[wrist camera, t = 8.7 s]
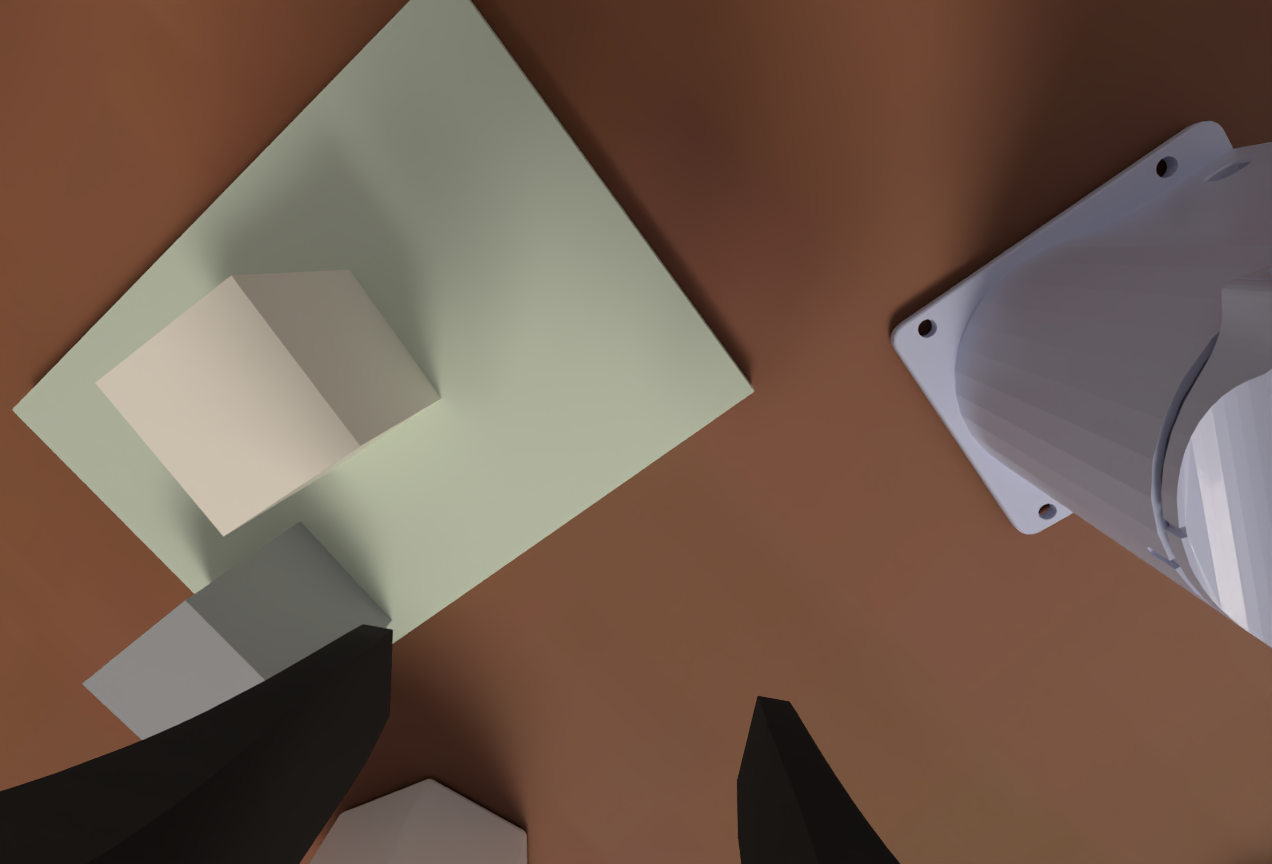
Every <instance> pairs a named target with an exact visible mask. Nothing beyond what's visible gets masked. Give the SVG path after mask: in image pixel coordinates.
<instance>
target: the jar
mask: <svg viewBox="0 0 1272 864" xmlns="http://www.w3.org/2000/svg"><path fill="white" fill-rule="evenodd" d="M309 864H527V835H526V832H525V831H524V830H523V829H521V828H519V827H517V826H515V825H514V824H512V823H510V822H508V821H506V820H505V819H503V818H501V817H499V816H497V815H496V814H494V813H492V812H490V811H488V810H487V809H485V808H483V807H481V806H480V805H478V804H476V803H474V802H472V801H471V800H469V799H467V798H465V797H463V796H462V795H460V794H458V793H456V792H454V791H453V790H451V789H449V788H447V787H445V786H444V785H442V784H440V783H438V782H436V781H435V780H433V779H426V780H424V781H421V782H419V783H416V784H414V785H411V786H409V787H406V788H404V789H401V790H398V791H396V792H393V793H391V794H388V795H386V796H383V797H381V798H378V799H376V800H373V801H370V802H368V803H365V804H363V805H360V806H358V807H355V808H352V809H350V810H347V811H345V812H343V813H341V814H340V815H339V817H338V818H337V820H336V821H335V823H334V825H333V826H332V828H331V829H330V831H329V833H328V834H327V836H326V837H325V839H324V841H323V842H322V844H321V845H320V847H319V849H318V850H317V852H316V854H315V855H314V857H313V858H312V860H311V862H310V863H309Z"/></svg>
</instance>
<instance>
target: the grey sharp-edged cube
mask: <svg viewBox="0 0 1272 864" xmlns="http://www.w3.org/2000/svg"><path fill="white" fill-rule="evenodd" d="M391 621H392V620H391V619H390V618H389V617H388V615H387V614H386V613H385V612H384V611H383V610H382V609H381V608H380V607H379V606H378V605H377V604H376V603H375V601H374V600H373V599H372V598H371V597H370V596H369V595H368V594H367V593H366V592H365V591H364V590H363V589H362V587H361V586H360V585H359V584H358V583H357V582H356V581H355V580H354V579H353V578H352V577H351V576H350V575H349V573H348V572H347V571H346V570H345V569H344V568H343V567H342V566H341V565H340V564H339V563H338V562H337V560H336V559H335V558H334V557H333V556H332V555H331V554H330V553H329V552H328V551H327V550H326V549H325V548H324V546H323V545H322V544H321V543H320V542H319V541H318V540H317V539H316V538H315V537H314V536H313V535H312V534H311V532H310V531H309V530H308V529H307V528H306V527H305V526H304V525H303V524H302V523H301V522H299V523H297V524H296V525H294V526H293V527H291V528H290V529H288V530H287V531H285V532H284V533H283V534H281V535H280V536H278V537H277V538H275V539H274V540H272V541H271V542H269V543H268V544H267V545H265V546H264V547H262V548H261V549H259V550H258V551H256V552H255V553H253V554H252V555H251V556H249V557H248V558H246V559H245V560H243V561H242V562H240V563H239V564H238V565H236V566H235V567H233V568H232V569H230V570H229V571H227V572H226V573H224V574H223V575H222V576H220V577H219V578H217V579H216V580H214V581H213V582H211V583H210V584H208V585H207V586H206V587H204V588H203V589H201V590H200V591H198V592H197V593H195V594H194V595H192V596H191V597H190V598H188V599H187V600H185V601H184V602H183V603H182V604H180V605H179V606H178V607H177V608H175V609H174V610H173V611H172V612H170V613H169V614H168V615H167V616H165V617H164V618H163V619H162V620H161V621H159V622H158V623H157V624H156V625H154V626H153V627H152V628H151V629H149V630H148V631H147V632H146V633H144V634H143V635H142V636H141V637H140V638H138V639H137V640H136V641H135V642H133V643H132V644H131V645H130V646H128V647H127V648H126V649H125V650H123V651H122V652H121V653H120V654H119V655H117V656H116V657H115V658H114V659H112V660H111V661H110V662H109V663H107V664H106V665H105V666H104V667H102V668H101V669H100V670H99V671H98V672H96V673H95V674H94V675H93V676H91V677H90V678H89V679H88V680H86V681H85V682H84V683H83V685H84V686H85V687H86V688H87V689H88V690H89V691H90V692H91V693H92V694H93V695H94V696H96V697H97V698H98V699H99V700H100V701H101V702H102V703H103V704H104V705H105V706H106V707H107V708H108V709H109V710H111V711H112V712H113V713H114V714H115V715H116V716H117V717H118V718H119V719H120V720H121V721H122V722H123V723H124V724H125V725H127V726H128V727H129V728H130V729H131V730H132V731H133V732H134V733H135V734H136V735H137V736H138V737H139V738H140V739H141V740H144V739H146V738H148V737H151V736H153V735H155V734H158V733H160V732H162V731H164V730H167V729H169V728H171V727H174V726H176V725H178V724H180V723H182V722H184V721H187V720H189V719H191V718H193V717H195V716H197V715H199V714H201V713H203V712H205V711H208V710H210V709H211V708H213V707H215V706H217V705H219V704H221V703H223V702H225V701H227V700H229V699H231V698H232V697H234V696H236V695H238V694H240V693H242V692H244V691H246V690H248V689H250V688H252V687H254V686H255V685H257V684H259V683H261V682H263V681H265V680H267V679H269V678H270V677H272V676H274V675H276V674H277V673H279V672H281V671H282V670H284V669H286V668H288V667H289V666H291V665H293V664H295V663H296V662H298V661H300V660H302V659H303V658H305V657H307V656H309V655H310V654H312V653H314V652H315V651H317V650H319V649H321V648H322V647H324V646H326V645H327V644H329V643H331V642H332V641H334V640H336V639H337V638H339V637H341V636H343V635H344V634H346V633H348V632H350V631H351V630H353V629H355V628H357V627H359V626H360V625H362V624H365V625H371V626H376V627H382V628H386V627H387V626H388V625H389V623H390V622H391Z"/></svg>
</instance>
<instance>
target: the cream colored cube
mask: <svg viewBox="0 0 1272 864" xmlns="http://www.w3.org/2000/svg"><path fill="white" fill-rule="evenodd" d="M95 383H96V385H97V386H98V387H99V388H100V389H101V391H102V392H103V393H104V394H105V395H106V397H107V398H108V399H109V400H110V401H111V403H112V404H113V405H114V406H115V407H116V408H117V410H118V411H119V412H120V413H121V414H122V416H123V417H124V418H125V419H126V420H127V422H128V423H129V424H130V425H131V426H132V428H133V429H134V430H135V431H136V432H137V434H138V435H139V436H140V437H141V438H142V440H143V441H144V442H145V443H146V444H147V446H148V447H149V448H150V449H151V450H152V452H153V453H154V454H155V455H156V456H157V458H158V459H159V460H160V461H161V462H162V464H163V465H164V466H165V467H166V468H167V470H168V471H169V472H170V473H171V474H172V476H173V477H174V478H175V479H176V480H177V482H178V483H179V484H180V485H181V486H182V487H183V489H184V490H185V491H186V492H187V493H188V495H189V496H190V497H191V498H192V499H193V501H194V502H195V503H196V504H197V505H198V507H199V508H200V509H201V510H202V511H203V513H204V514H205V515H206V516H207V517H208V519H209V520H210V521H211V522H212V523H213V525H214V526H215V527H216V528H217V529H218V531H219V532H220V533H221V534H222V535H223V537H224V536H225V535H227V534H229V533H230V532H232V531H234V530H235V529H237V528H238V527H240V526H242V525H243V524H245V523H247V522H248V521H250V520H252V519H253V518H255V517H257V516H258V515H260V514H262V513H263V512H265V511H266V510H268V509H270V508H271V507H273V506H275V505H276V504H278V503H280V502H281V501H283V500H285V499H286V498H288V497H289V496H291V495H293V494H294V493H296V492H298V491H299V490H301V489H303V488H304V487H306V486H308V485H309V484H311V483H313V482H314V481H316V480H317V479H319V478H321V477H322V476H324V475H326V474H327V473H329V472H331V471H332V470H334V469H335V468H337V467H338V466H340V465H341V464H343V463H344V462H346V461H347V460H349V459H351V458H352V457H354V456H355V455H357V454H358V453H360V452H361V451H363V450H364V449H366V448H367V447H369V446H370V445H372V444H373V443H375V442H376V441H378V440H379V439H381V438H382V437H384V436H385V435H387V434H388V433H390V432H391V431H393V430H395V429H396V428H398V427H399V426H401V425H402V424H404V423H405V422H407V421H408V420H410V419H411V418H413V417H414V416H416V415H417V414H419V413H420V412H422V411H423V410H425V409H426V408H428V407H429V406H431V405H432V404H434V403H435V402H437V401H438V400H440V399H442V398H441V397H440V396H439V394H438V393H437V391H436V390H435V389H434V387H433V386H432V384H431V383H430V382H429V380H428V379H427V377H426V376H425V375H424V373H423V372H422V370H421V369H420V368H419V366H418V365H417V363H416V362H415V361H414V359H413V358H412V356H411V355H410V354H409V352H408V351H407V349H406V348H405V347H404V345H403V344H402V342H401V341H400V340H399V338H398V337H397V335H396V334H395V333H394V331H393V330H392V328H391V327H390V326H389V324H388V323H387V321H386V320H385V319H384V317H383V316H382V314H381V313H380V312H379V310H378V309H377V307H376V306H375V305H374V303H373V302H372V300H371V299H370V298H369V296H368V295H367V293H366V292H365V291H364V289H363V288H362V286H361V285H360V284H359V282H358V281H357V279H356V278H355V277H354V275H353V274H352V272H351V271H350V270H331V271H310V272H290V273H270V274H250V275H231V276H230V277H229V278H227V279H226V280H225V281H223V282H222V283H221V284H220V285H218V286H217V287H216V288H215V289H213V290H212V291H211V292H209V293H208V294H207V295H206V296H204V297H203V298H202V299H201V300H199V301H198V302H197V303H196V304H194V305H193V306H192V307H190V308H189V309H188V310H187V311H185V312H184V313H183V314H182V315H180V316H179V317H178V318H177V319H175V320H174V321H173V322H171V323H170V324H169V325H168V326H166V327H165V328H164V329H163V330H161V331H160V332H159V333H158V334H156V335H155V336H154V337H152V338H151V339H150V340H149V341H147V342H146V343H145V344H144V345H142V346H141V347H140V348H138V349H137V350H136V351H135V352H133V353H132V354H131V355H130V356H128V357H127V358H126V359H125V360H123V361H122V362H121V363H119V364H118V365H117V366H116V367H114V368H113V369H112V370H111V371H109V372H108V373H107V374H106V375H104V376H103V377H102V378H100V379H99V380H98V381H97V382H95Z"/></svg>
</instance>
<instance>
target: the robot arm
mask: <svg viewBox="0 0 1272 864" xmlns="http://www.w3.org/2000/svg"><path fill="white" fill-rule="evenodd" d="M1161 159H1163V160H1164V161H1165V162H1166V165H1167V169H1166V172H1165V174H1164V175H1163V176H1162V177H1160V176H1159V175H1157V172H1156V167H1157V164H1158V162H1159V161H1160V160H1161ZM927 319H929V320H930V321H931V324H932V328H931V331H930V332H929V333H928V334H927V335H924V336H921V335H919V332H918V327H919V324H920V323H921V322H922V321H924V320H927ZM891 344H892V346H893V348H894V350H895V351H896V353H897V354H898V356H899V357H900V359H901V360H902V362H903V363H904V365H905V366H906V368H907V369H908V371H909V372H910V373H911V375H912V376H913V378H914V379H915V381H916V382H917V384H918V385H919V387H920V388H921V390H922V391H923V393H924V394H925V396H926V397H927V399H928V400H929V402H930V403H931V405H932V406H933V408H934V409H935V411H936V412H937V414H938V415H939V417H940V418H941V420H942V421H943V423H944V424H945V426H946V427H947V429H948V430H949V432H950V433H951V435H952V436H953V438H954V439H955V440H956V442H957V443H958V445H959V446H960V448H961V449H962V451H963V452H964V454H965V455H966V457H967V458H968V460H969V461H970V463H971V464H972V466H973V467H974V469H975V470H976V472H977V473H978V475H979V476H980V478H981V479H982V481H983V482H984V484H985V485H986V487H987V488H988V490H989V491H990V493H991V494H992V496H993V497H994V499H995V500H996V502H997V503H998V504H999V506H1000V507H1001V509H1002V510H1003V512H1004V513H1005V515H1006V516H1007V518H1008V519H1009V521H1010V522H1011V524H1012V525H1013V526H1014V527H1015V528H1016V529H1018V530H1019V531H1020V532H1021V533H1024V534H1035V533H1038V532H1040V531H1042V530H1044V529H1045V528H1047V527H1049V526H1051V525H1053V524H1054V523H1056V522H1058V521H1060V520H1061V519H1063V518H1065V517H1067V516H1069V515H1070V514H1072V513H1075V514H1076V515H1078V516H1079V517H1080V518H1082V519H1083V520H1085V521H1086V522H1088V523H1089V524H1091V525H1092V526H1094V527H1095V528H1097V529H1098V530H1100V531H1101V532H1103V533H1104V534H1105V535H1107V536H1108V537H1110V538H1111V539H1113V540H1114V541H1116V542H1117V543H1119V544H1120V545H1122V546H1123V547H1125V548H1126V549H1128V550H1129V551H1130V552H1132V553H1133V554H1135V555H1136V556H1138V557H1139V558H1141V559H1142V560H1144V561H1145V562H1147V563H1148V564H1150V565H1151V566H1153V567H1154V568H1155V569H1157V570H1158V571H1160V572H1161V573H1163V574H1164V575H1166V576H1167V577H1169V578H1170V579H1172V580H1173V581H1175V582H1176V583H1177V584H1179V585H1180V586H1182V587H1183V588H1185V589H1186V590H1188V591H1189V592H1191V593H1192V594H1194V595H1195V596H1197V597H1198V598H1200V599H1201V600H1202V601H1204V602H1205V603H1207V604H1208V605H1210V606H1211V607H1213V608H1214V609H1216V610H1217V611H1219V612H1220V613H1222V614H1223V615H1224V616H1226V617H1227V618H1229V619H1230V620H1232V621H1233V622H1235V623H1236V624H1237V625H1239V626H1240V627H1242V628H1243V629H1245V630H1246V631H1248V632H1249V633H1251V634H1252V635H1254V636H1255V637H1257V638H1258V639H1260V640H1261V641H1263V642H1264V643H1266V644H1267V645H1269V646H1270V647H1271V648H1272V142H1267V143H1262V144H1256V145H1251V146H1246V147H1241V148H1235V149H1233V147H1232V145H1231V143H1230V141H1229V139H1228V137H1227V135H1226V133H1225V132H1224V130H1223V128H1222V127H1221V126H1220V125H1219V124H1218V123H1216V122H1213V121H1203V122H1199V123H1195V124H1193V125H1190V126H1188V127H1186V128H1185V129H1183V130H1182V131H1180V132H1179V133H1177V134H1176V135H1174V136H1173V137H1171V138H1170V139H1169V140H1167V141H1166V142H1164V143H1163V144H1161V145H1160V146H1158V147H1157V148H1155V149H1154V150H1152V151H1151V152H1150V153H1148V154H1147V155H1145V156H1144V157H1142V158H1141V159H1139V160H1138V161H1136V162H1135V163H1133V164H1132V165H1131V166H1129V167H1128V168H1126V169H1125V170H1123V171H1122V172H1120V173H1119V174H1117V175H1116V176H1114V177H1113V178H1112V179H1110V180H1109V181H1107V182H1106V183H1104V184H1103V185H1101V186H1100V187H1098V188H1097V189H1095V190H1094V191H1092V192H1091V193H1090V194H1088V195H1087V196H1085V197H1084V198H1082V199H1081V200H1079V201H1078V202H1076V203H1075V204H1073V205H1072V206H1071V207H1069V208H1068V209H1066V210H1065V211H1063V212H1062V213H1060V214H1059V215H1057V216H1056V217H1054V218H1053V219H1052V220H1050V221H1049V222H1047V223H1046V224H1044V225H1043V226H1041V227H1040V228H1038V229H1037V230H1035V231H1034V232H1033V233H1031V234H1030V235H1028V236H1027V237H1025V238H1024V239H1022V240H1021V241H1019V242H1018V243H1016V244H1015V245H1013V246H1012V247H1011V248H1009V249H1008V250H1006V251H1005V252H1003V253H1002V254H1000V255H999V256H997V257H996V258H994V259H993V260H992V261H990V262H989V263H987V264H986V265H984V266H983V267H981V268H980V269H978V270H977V271H975V272H974V273H973V274H971V275H970V276H968V277H967V278H965V279H964V280H962V281H961V282H959V283H958V284H956V285H955V286H954V287H952V288H951V289H949V290H948V291H946V292H945V293H943V294H942V295H940V296H939V297H937V298H936V299H935V300H933V301H932V302H930V303H929V304H927V305H926V306H924V307H923V308H921V309H920V310H918V311H917V312H915V313H914V314H913V315H911V316H910V317H908V318H907V319H905V320H904V321H902V322H901V323H899V324H898V325H897V326H896V327H895V328H894V330H893V332H892V334H891ZM1045 504H1049V505H1050V507H1049V510H1048V511H1047V512H1046V513H1044V514H1041V515H1040V514H1039V513H1038V512H1039V509H1040V508H1041V507H1042V506H1043V505H1045ZM392 642H393V629H387V628H382V627H376V626H371V625H365V624H362V625H360V626H359V627H357V628H355V629H353V630H351V631H350V632H348V633H346V634H344V635H343V636H341V637H339V638H337V639H336V640H334V641H332V642H331V643H329V644H327V645H326V646H324V647H322V648H321V649H319V650H317V651H315V652H314V653H312V654H310V655H309V656H307V657H305V658H303V659H302V660H300V661H298V662H296V663H295V664H293V665H291V666H289V667H288V668H286V669H284V670H282V671H281V672H279V673H277V674H276V675H274V676H272V677H270V678H269V679H267V680H265V681H263V682H261V683H259V684H257V685H255V686H254V687H252V688H250V689H248V690H246V691H244V692H242V693H240V694H238V695H236V696H234V697H232V698H231V699H229V700H227V701H225V702H223V703H221V704H219V705H217V706H215V707H213V708H211V709H210V710H208V711H205V712H203V713H201V714H199V715H197V716H195V717H193V718H191V719H189V720H187V721H184V722H182V723H180V724H178V725H176V726H174V727H171V728H169V729H167V730H164V731H162V732H160V733H158V734H155V735H153V736H151V737H148V738H146V739H144V740H141V741H139V742H137V743H134V744H132V745H129V746H127V747H124V748H122V749H119V750H116V751H114V752H111V753H108V754H106V755H103V756H100V757H98V758H95V759H92V760H90V761H87V762H84V763H82V764H79V765H76V766H74V767H71V768H68V769H66V770H63V771H61V772H58V773H55V774H52V775H49V776H46V777H43V778H40V779H37V780H34V781H31V782H28V783H25V784H22V785H19V786H16V787H13V788H10V789H6V790H3V791H0V864H299V863H300V862H301V860H302V859H303V857H304V856H305V854H306V853H307V851H308V850H309V848H310V847H311V845H312V844H313V842H314V841H315V839H316V838H317V836H318V835H319V833H320V832H321V830H322V829H323V827H324V826H325V824H326V823H327V821H328V820H329V818H330V817H331V815H332V814H333V812H334V811H335V809H336V808H337V806H338V805H339V803H340V802H341V800H342V799H343V797H344V796H345V794H346V793H347V791H348V790H349V788H350V787H351V785H352V783H353V782H354V780H355V779H356V777H357V776H358V774H359V773H360V771H361V770H362V768H363V766H364V765H365V763H366V761H367V759H368V757H369V755H370V753H371V751H372V749H373V748H374V746H375V744H376V742H377V740H378V738H379V736H380V734H381V732H382V730H383V728H384V725H385V723H386V721H387V719H388V717H389V715H390V691H391V666H392ZM737 812H738V840H739V848H740V857H741V864H900V863H899V862H898V861H897V859H896V858H895V857H894V856H893V854H892V853H891V852H890V851H889V849H888V848H887V847H886V846H885V844H884V843H883V842H882V840H881V839H880V838H879V836H878V835H877V834H876V832H875V831H874V830H873V828H872V827H871V826H870V824H869V823H868V822H867V820H866V819H865V818H864V816H863V815H862V813H861V812H860V810H859V809H858V808H857V806H856V805H855V803H854V802H853V800H852V799H851V797H850V796H849V794H848V793H847V792H846V790H845V789H844V787H843V786H842V784H841V783H840V781H839V780H838V778H837V777H836V775H835V774H834V772H833V771H832V769H831V767H830V766H829V764H828V763H827V761H826V760H825V758H824V756H823V755H822V753H821V752H820V750H819V748H818V747H817V745H816V744H815V742H814V740H813V739H812V737H811V735H810V734H809V732H808V731H807V729H806V727H805V726H804V724H803V722H802V721H801V719H800V717H799V716H798V714H797V712H796V711H795V709H794V707H793V706H792V705H791V703H790V702H789V701H783V700H778V699H772V698H767V697H761V696H758V697H757V701H756V705H755V709H754V713H753V717H752V722H751V726H750V730H749V734H748V738H747V742H746V746H745V750H744V754H743V759H742V763H741V767H740V771H739V775H738V779H737Z"/></svg>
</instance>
